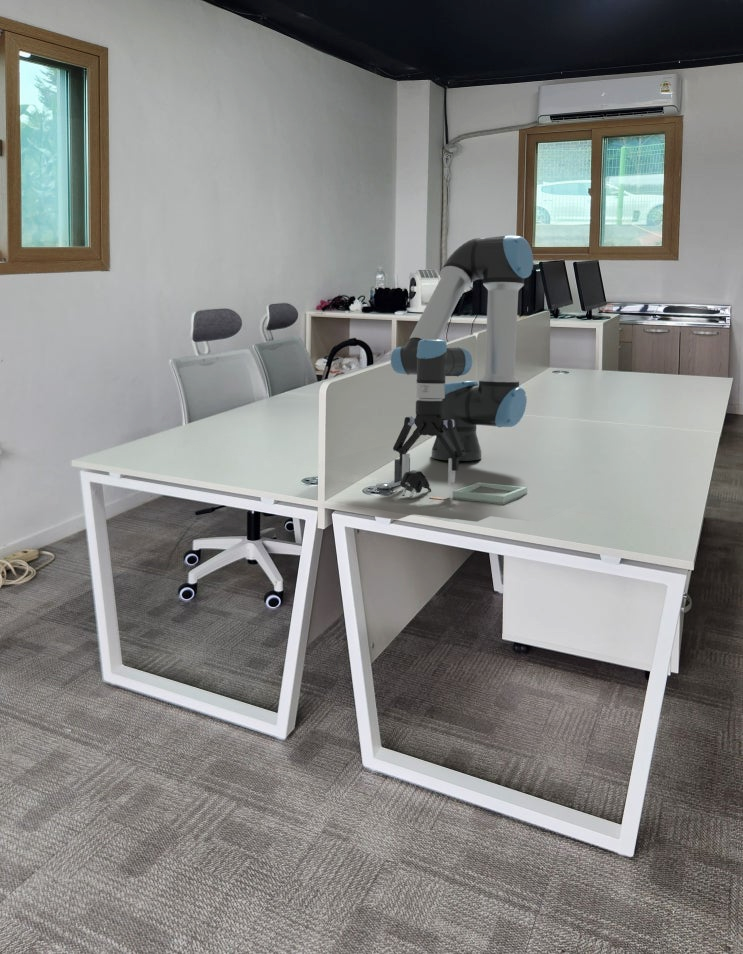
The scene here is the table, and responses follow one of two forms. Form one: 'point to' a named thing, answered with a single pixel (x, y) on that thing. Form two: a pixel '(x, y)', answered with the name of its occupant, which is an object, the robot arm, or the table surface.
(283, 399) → the table surface
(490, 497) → the tray
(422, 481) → the power plug
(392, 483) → the crank
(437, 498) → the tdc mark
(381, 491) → the hub
